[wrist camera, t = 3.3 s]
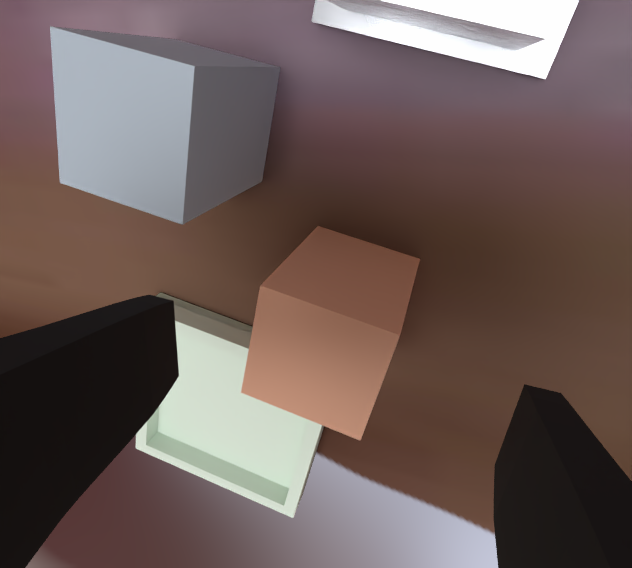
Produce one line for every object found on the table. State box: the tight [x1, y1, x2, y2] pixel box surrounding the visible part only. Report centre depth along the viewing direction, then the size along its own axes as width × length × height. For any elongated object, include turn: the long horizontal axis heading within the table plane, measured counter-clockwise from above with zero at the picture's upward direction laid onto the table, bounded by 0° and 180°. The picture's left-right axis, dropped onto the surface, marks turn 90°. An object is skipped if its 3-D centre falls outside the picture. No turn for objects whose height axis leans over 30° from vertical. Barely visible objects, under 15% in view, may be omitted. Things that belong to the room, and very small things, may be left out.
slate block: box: [50, 26, 280, 225], centre depth 14 cm, size 4×4×6 cm
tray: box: [136, 293, 324, 518], centre depth 22 cm, size 9×9×2 cm
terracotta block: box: [241, 226, 420, 440], centre depth 15 cm, size 4×4×6 cm
